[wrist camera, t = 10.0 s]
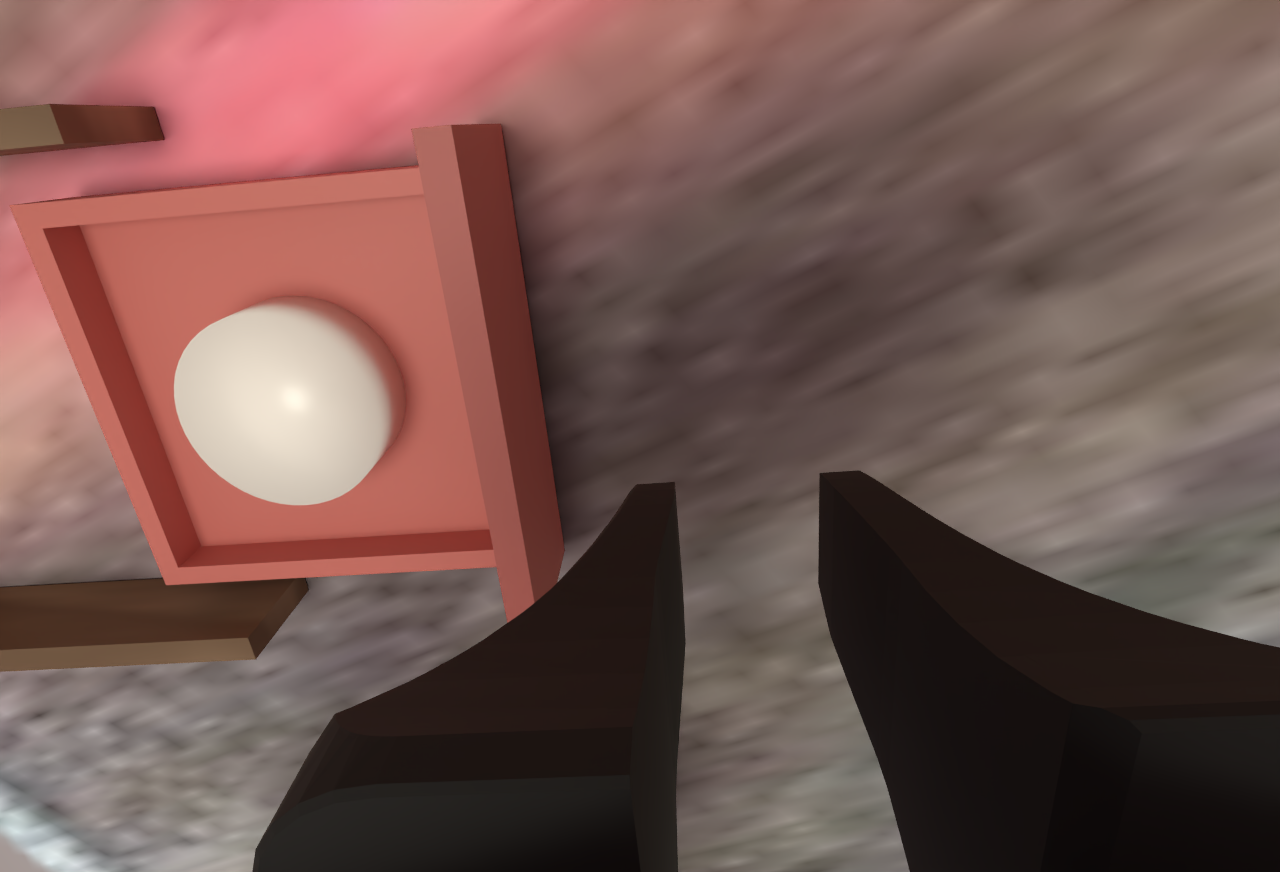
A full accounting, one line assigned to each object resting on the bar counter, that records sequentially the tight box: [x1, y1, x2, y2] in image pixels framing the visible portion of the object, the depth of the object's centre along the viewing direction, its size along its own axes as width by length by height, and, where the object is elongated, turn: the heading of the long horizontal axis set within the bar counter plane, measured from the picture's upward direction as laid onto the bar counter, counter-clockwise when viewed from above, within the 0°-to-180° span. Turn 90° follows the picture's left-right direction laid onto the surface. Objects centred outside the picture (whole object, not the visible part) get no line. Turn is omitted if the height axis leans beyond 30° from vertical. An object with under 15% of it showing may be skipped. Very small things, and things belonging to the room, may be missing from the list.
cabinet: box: [0, 104, 308, 672], centre depth 21 cm, size 15×12×4 cm
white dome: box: [174, 296, 406, 505], centre depth 20 cm, size 5×5×2 cm
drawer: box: [10, 124, 565, 622], centre depth 19 cm, size 13×12×5 cm
